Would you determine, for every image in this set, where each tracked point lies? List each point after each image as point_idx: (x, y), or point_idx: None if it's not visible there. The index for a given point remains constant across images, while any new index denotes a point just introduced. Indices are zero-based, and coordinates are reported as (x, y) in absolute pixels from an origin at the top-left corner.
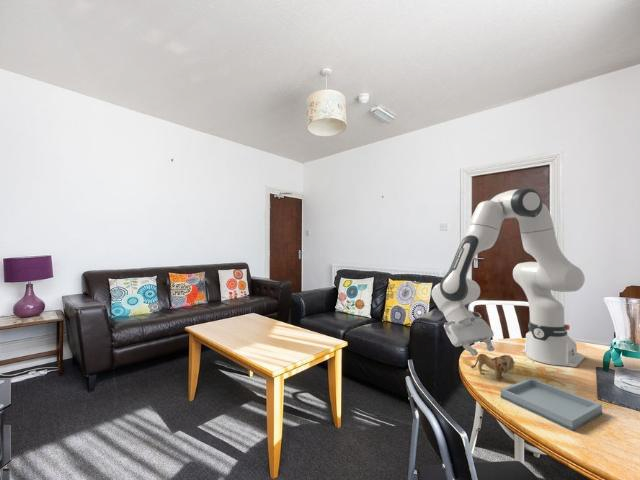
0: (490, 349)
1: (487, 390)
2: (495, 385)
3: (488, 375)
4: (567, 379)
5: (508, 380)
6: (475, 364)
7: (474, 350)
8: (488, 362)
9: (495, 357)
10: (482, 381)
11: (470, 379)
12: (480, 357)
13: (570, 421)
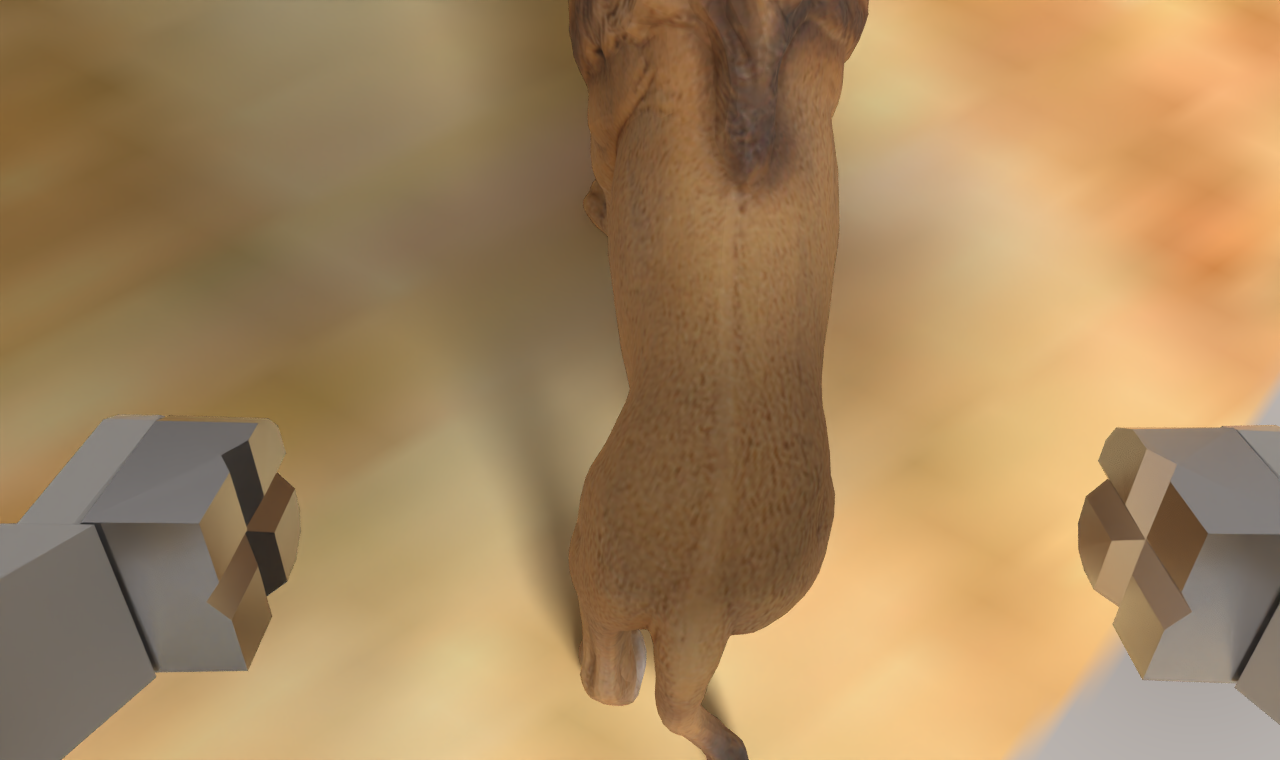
0: (266, 490)
1: (1255, 67)
2: (976, 105)
3: None
4: None
5: None
6: (707, 724)
7: (1277, 500)
8: (831, 265)
9: (779, 26)
10: (1052, 297)
11: None
12: (827, 514)
13: None
